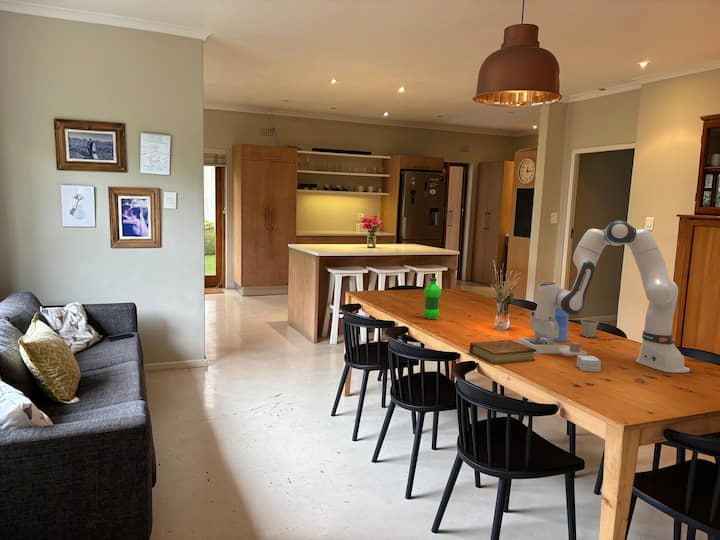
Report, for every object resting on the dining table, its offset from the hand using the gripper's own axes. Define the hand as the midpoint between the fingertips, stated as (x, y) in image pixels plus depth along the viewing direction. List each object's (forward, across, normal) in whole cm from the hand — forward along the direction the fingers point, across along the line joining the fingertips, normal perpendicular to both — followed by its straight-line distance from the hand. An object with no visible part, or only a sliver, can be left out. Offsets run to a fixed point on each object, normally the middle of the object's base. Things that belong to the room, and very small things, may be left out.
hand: (542, 343), depth 257 cm
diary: (+4, -9, +26) cm, 28 cm away
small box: (+4, -30, -4) cm, 30 cm away
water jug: (+4, +21, -18) cm, 28 cm away
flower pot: (+4, +26, -44) cm, 51 cm away
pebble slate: (+3, 0, 0) cm, 3 cm away
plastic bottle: (+4, +72, +32) cm, 79 cm away
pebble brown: (+3, -4, -15) cm, 16 cm away
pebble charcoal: (+3, 0, +4) cm, 5 cm away
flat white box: (+4, 0, +2) cm, 4 cm away
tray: (+4, -4, -11) cm, 13 cm away
